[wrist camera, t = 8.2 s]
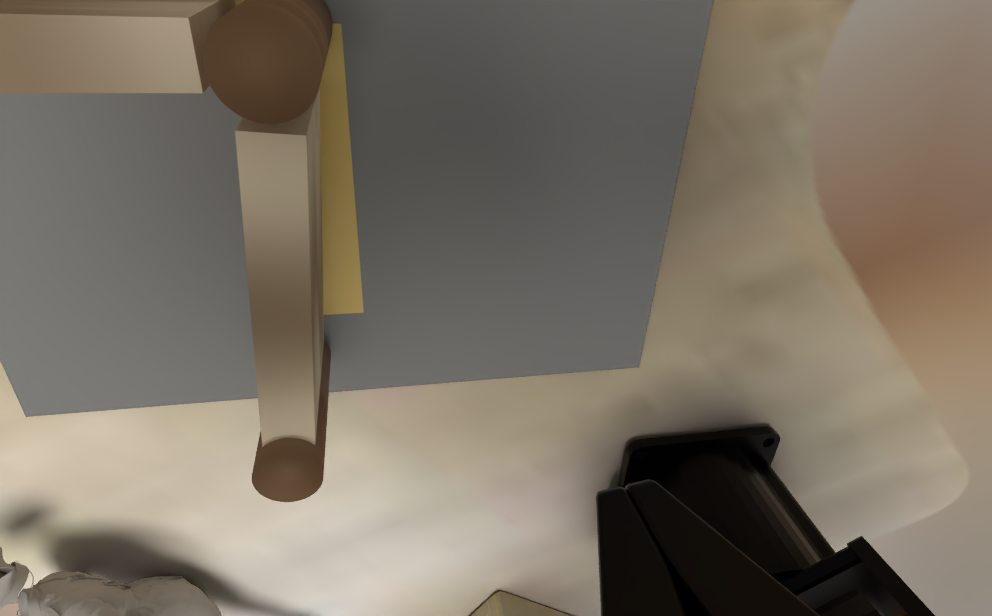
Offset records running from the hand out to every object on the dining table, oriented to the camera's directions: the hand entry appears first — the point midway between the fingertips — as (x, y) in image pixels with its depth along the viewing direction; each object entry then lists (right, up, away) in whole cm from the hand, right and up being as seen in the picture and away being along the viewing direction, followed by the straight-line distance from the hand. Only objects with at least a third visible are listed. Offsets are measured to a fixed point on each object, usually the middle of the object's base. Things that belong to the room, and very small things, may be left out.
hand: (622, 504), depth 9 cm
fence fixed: (-10, +9, +5) cm, 15 cm away
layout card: (-6, +7, +8) cm, 12 cm away
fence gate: (-7, +4, +8) cm, 12 cm away
